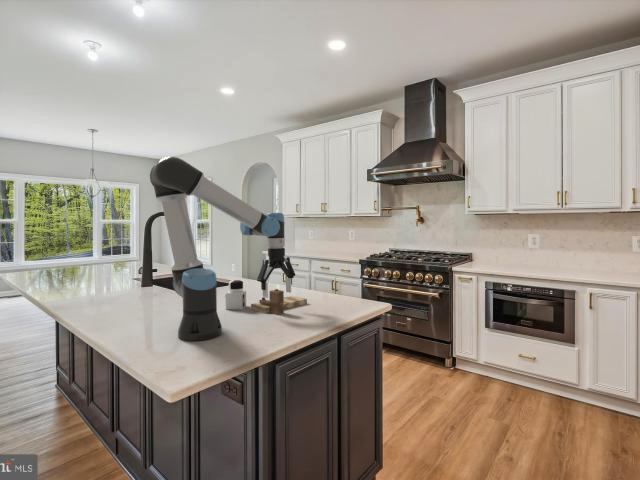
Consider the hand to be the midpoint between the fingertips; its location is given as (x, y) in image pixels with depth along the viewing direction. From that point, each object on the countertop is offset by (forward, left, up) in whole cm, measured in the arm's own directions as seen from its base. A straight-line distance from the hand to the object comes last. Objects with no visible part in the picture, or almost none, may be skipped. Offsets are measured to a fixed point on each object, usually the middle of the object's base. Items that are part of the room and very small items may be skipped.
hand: (277, 294), depth 162 cm
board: (+9, +9, -8) cm, 15 cm away
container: (-7, +22, -9) cm, 24 cm away
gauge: (0, +4, -8) cm, 9 cm away
